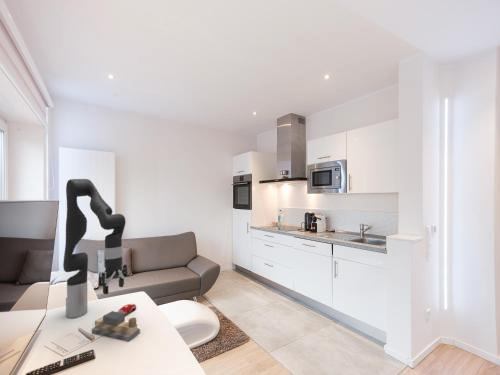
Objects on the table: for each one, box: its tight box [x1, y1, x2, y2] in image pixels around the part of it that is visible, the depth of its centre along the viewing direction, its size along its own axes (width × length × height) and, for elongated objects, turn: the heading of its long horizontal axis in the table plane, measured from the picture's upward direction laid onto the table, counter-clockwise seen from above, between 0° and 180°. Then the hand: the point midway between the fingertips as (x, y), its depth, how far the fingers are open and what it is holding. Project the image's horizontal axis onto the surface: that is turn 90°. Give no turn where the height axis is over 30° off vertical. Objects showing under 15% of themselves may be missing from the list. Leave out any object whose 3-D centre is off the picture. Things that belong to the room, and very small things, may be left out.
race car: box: [117, 303, 137, 317], centre depth 134 cm, size 13×5×4 cm, turn 161°
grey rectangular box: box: [102, 310, 126, 326], centre depth 116 cm, size 8×5×4 cm, turn 72°
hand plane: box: [91, 316, 141, 342], centre depth 116 cm, size 23×7×8 cm, turn 72°
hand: (113, 290), depth 116 cm, fingers open, 8 cm apart
